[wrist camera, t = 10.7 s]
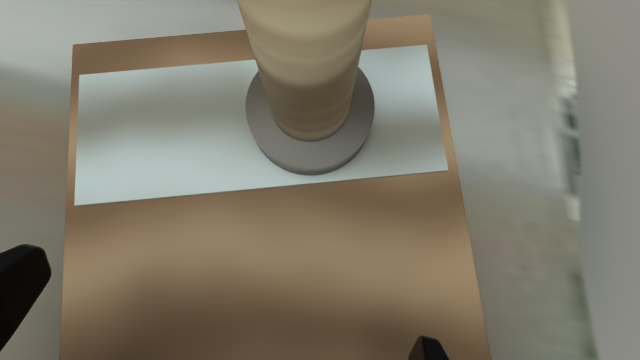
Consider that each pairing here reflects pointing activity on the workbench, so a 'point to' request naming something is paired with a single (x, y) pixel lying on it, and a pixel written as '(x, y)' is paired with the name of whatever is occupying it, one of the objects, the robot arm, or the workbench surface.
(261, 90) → the post
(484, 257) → the workbench surface
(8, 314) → the robot arm
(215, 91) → the board
